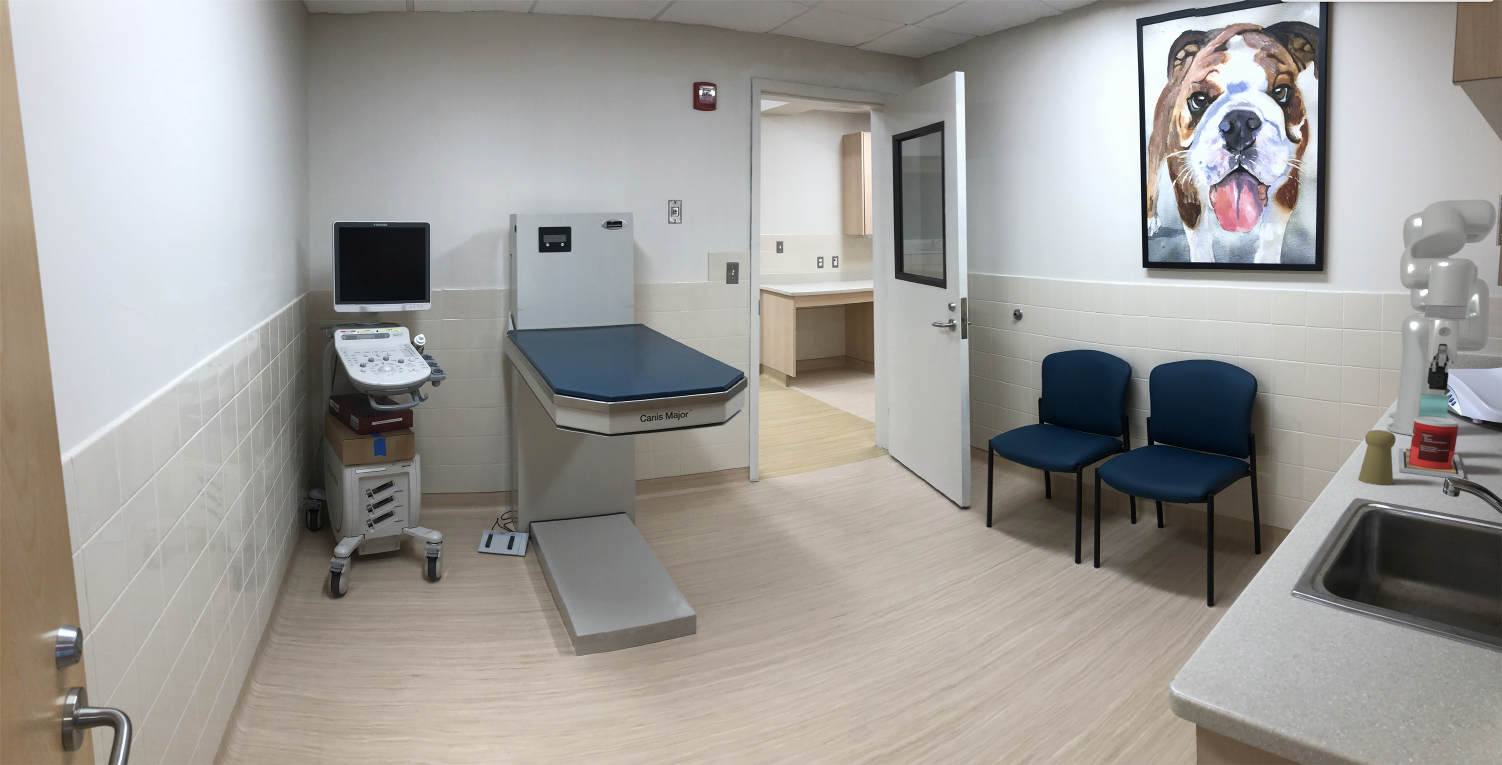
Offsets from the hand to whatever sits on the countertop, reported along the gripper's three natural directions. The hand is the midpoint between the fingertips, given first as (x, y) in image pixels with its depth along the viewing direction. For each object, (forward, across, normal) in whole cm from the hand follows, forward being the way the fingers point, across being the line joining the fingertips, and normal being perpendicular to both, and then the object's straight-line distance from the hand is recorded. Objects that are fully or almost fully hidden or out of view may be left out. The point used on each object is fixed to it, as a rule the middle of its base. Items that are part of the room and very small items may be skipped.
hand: (1436, 386), depth 199 cm
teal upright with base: (+17, -7, 0) cm, 18 cm away
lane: (+17, -9, 0) cm, 19 cm away
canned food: (+17, -13, 0) cm, 21 cm away
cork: (+18, -31, +10) cm, 37 cm away
